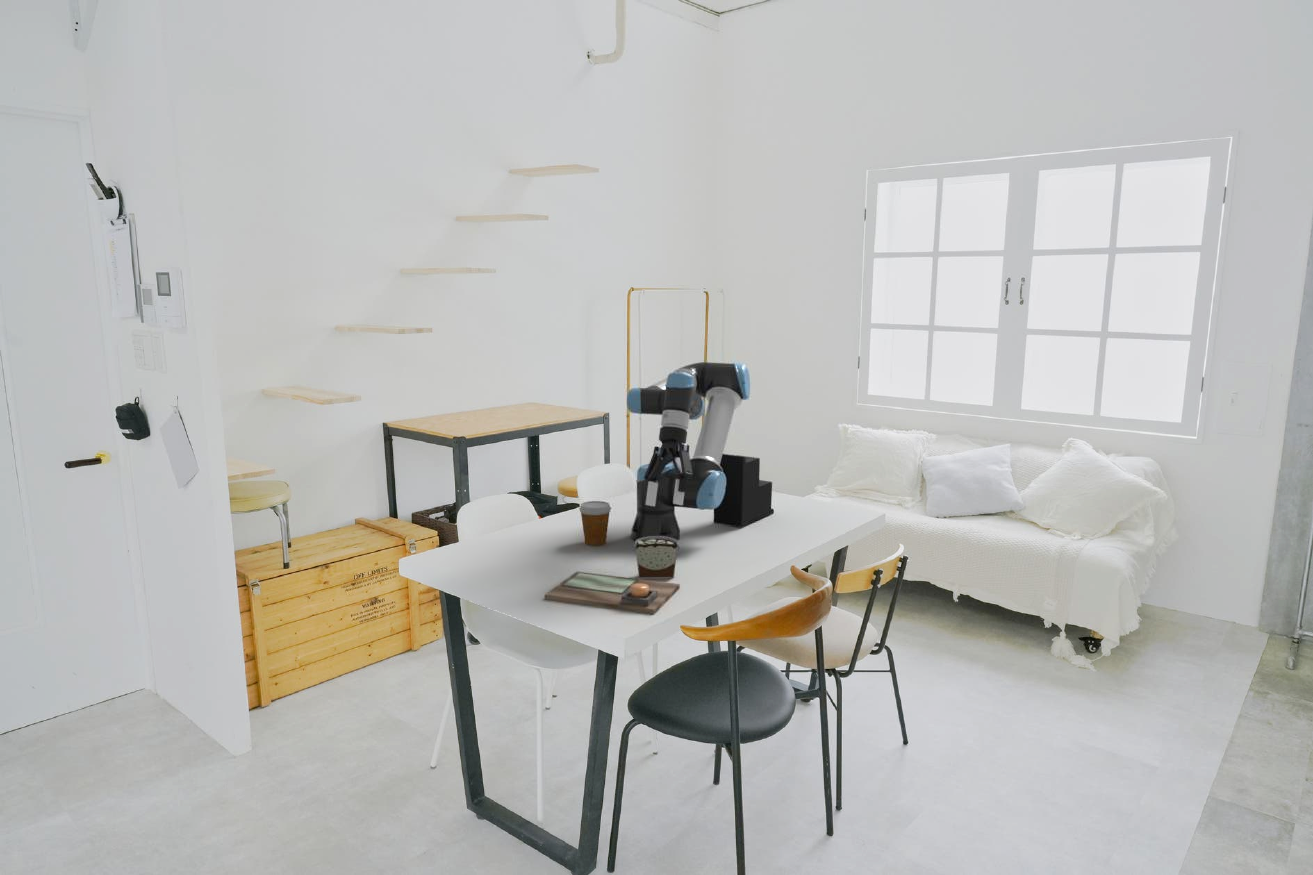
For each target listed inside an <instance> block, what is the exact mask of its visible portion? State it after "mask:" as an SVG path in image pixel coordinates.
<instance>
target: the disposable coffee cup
mask: <svg viewBox="0 0 1313 875" xmlns="http://www.w3.org/2000/svg"><path fill="white" fill-rule="evenodd" d="M578 510H579V512H580V515H581V516H580V517H581V522H582V523H581V524H582V532H583V537H584V543H585V545H587V546H590V547H591V546H593V547H598V546H603V545H605V544H606V543H607V538H608V537H607V535H608V528H609V521H610V520H609V518H610V512H611V510H612V507H611V506H610V503H609V502H606V501H600V500H592V501H591V500H590V501H589V500H588V501H585V502H582V503H580V507H579V508H578Z"/></svg>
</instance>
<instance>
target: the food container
mask: <svg viewBox="0 0 1313 875" xmlns="http://www.w3.org/2000/svg"><path fill="white" fill-rule="evenodd" d="M634 541H635V540H634ZM633 550H635V554H636V555H635V556H636V562H637V564H636V565H637V574H638V579H675V573H676V571H675V570H676V564H677V556H678V555H677V554H678V550H680V544H679V541H678V540H676V539H674V538H670V537H665V536H648V537H643V538H639V539H637V540H636V541H635V542H634V545H633Z"/></svg>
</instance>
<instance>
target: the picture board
mask: <svg viewBox="0 0 1313 875" xmlns="http://www.w3.org/2000/svg"><path fill="white" fill-rule="evenodd" d="M637 583H642V584H647V585H648V586H649V595H648V596H646V597H633V596H631V585H633V584H637ZM680 586H681V585H680V583H673V582H666V581H665V582H664V581H656V580H651V579H644V578H634V577H625V576H616V575H610V574H609V575H608V574H601V573H600V574H599V573H594V572H593V573H592V572H584V571H578V570H577V571H575V572H574V573H573V574H571V575H570V576H568V577H567V578H565V579H564V580H562V581H561V582H560V583H559V584H557V585H555V586H554V587H553V588H552V589H550V590H549V591H548V592H546V593H544V600H548V601H554V602H556V601H557V602H563V603H570V604H577V605H578V604H579V605H585V606H593V607H600V608H607V609H615V610H621V611H630V612H636V613H644V614H651V615H655V614H656V613H657V612H658V611H660V609H662V607H664V605H665V604H666V603H667V602H669V600H670V599H671V598H672V597H673V596H674V595H675V594H676V593H677V592H678V591H679V590H680Z"/></svg>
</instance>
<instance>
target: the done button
mask: <svg viewBox="0 0 1313 875" xmlns="http://www.w3.org/2000/svg"><path fill="white" fill-rule="evenodd" d="M648 595H649V586H648V585H647V584H642V583H637V584H633V585H631V596H633V597H646V596H648Z"/></svg>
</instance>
